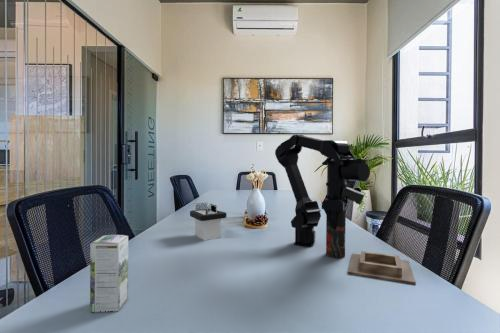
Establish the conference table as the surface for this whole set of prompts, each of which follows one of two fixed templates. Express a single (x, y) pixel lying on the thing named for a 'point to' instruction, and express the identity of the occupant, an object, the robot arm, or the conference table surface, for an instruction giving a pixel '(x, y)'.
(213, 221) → the black-topped pedestal
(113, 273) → the syrup box
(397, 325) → the conference table surface
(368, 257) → the holder
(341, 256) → the deodorant
